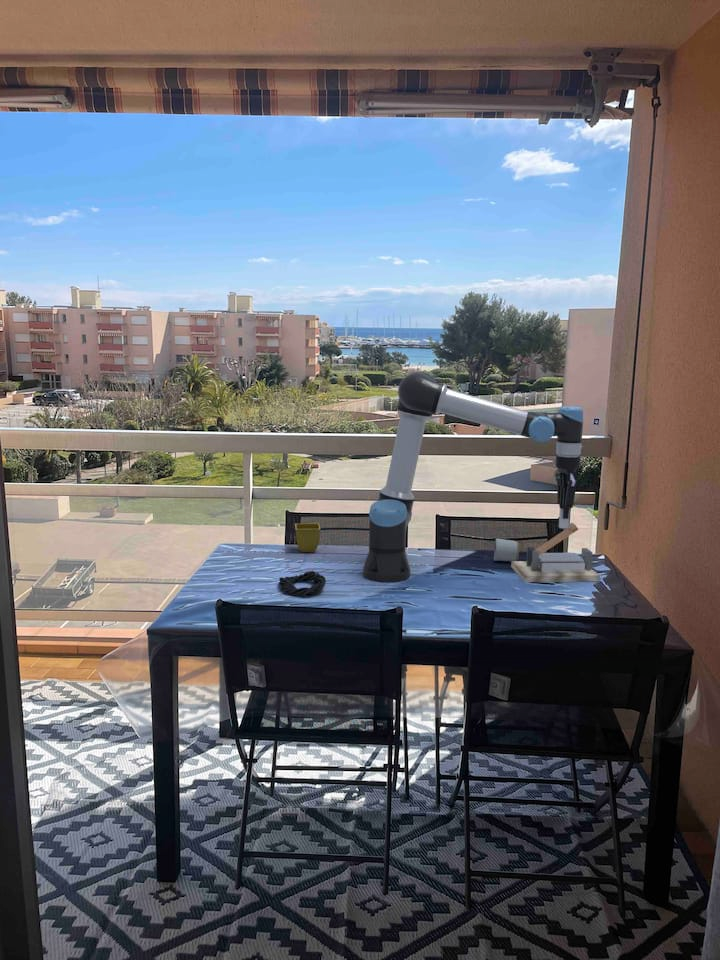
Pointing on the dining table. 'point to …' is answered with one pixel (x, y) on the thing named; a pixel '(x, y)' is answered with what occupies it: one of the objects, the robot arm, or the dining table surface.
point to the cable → (308, 576)
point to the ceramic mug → (506, 550)
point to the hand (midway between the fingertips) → (563, 527)
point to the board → (552, 574)
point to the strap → (557, 539)
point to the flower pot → (307, 536)
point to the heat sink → (559, 561)
